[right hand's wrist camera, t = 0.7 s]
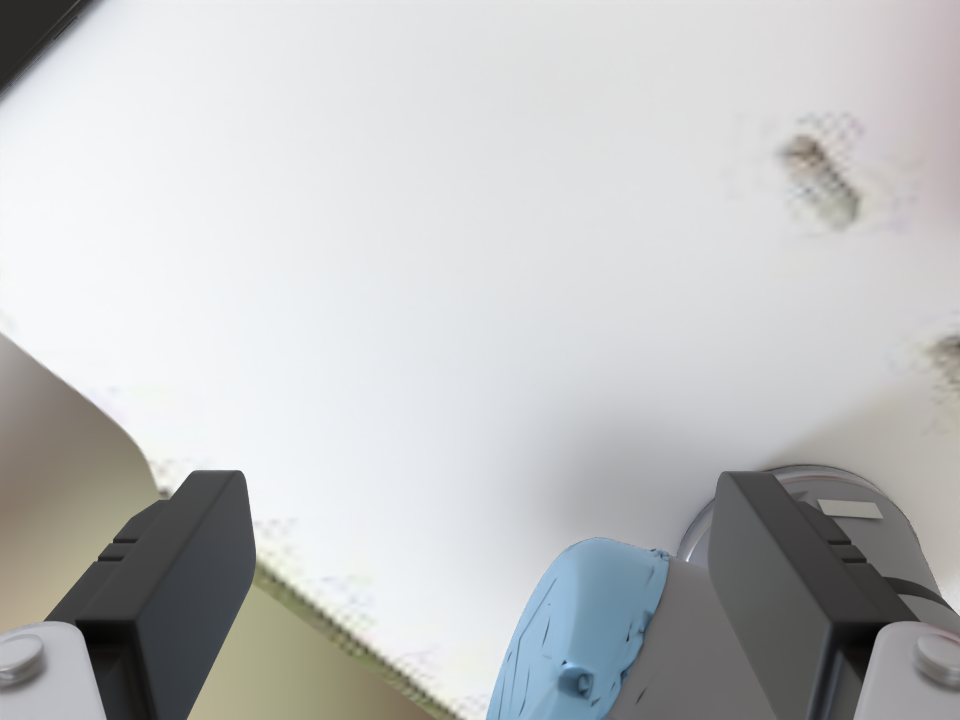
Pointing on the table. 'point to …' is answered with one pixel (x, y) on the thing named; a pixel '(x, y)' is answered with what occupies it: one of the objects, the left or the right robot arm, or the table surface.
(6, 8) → the smartphone
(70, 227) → the table surface
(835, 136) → the table surface
